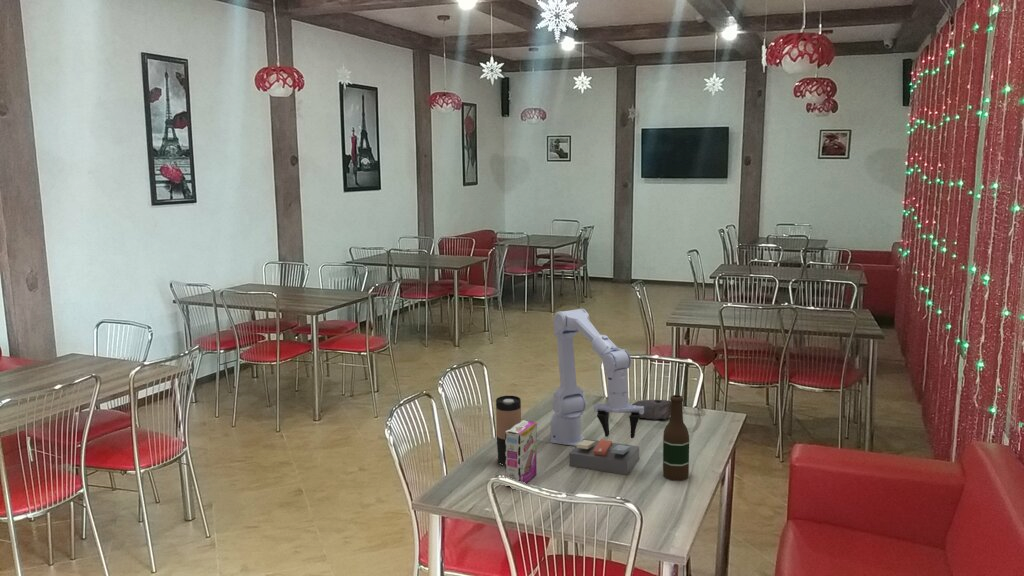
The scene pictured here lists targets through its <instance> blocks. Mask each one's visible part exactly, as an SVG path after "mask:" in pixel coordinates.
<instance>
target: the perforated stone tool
mask: <svg viewBox="0 0 1024 576" xmlns="http://www.w3.org/2000/svg"><path fill="white" fill-rule="evenodd" d="M631 405H636V406H644V413H643V414H641V415H640V417H639V419H646V420H652V421H654V420H655V421H656V420H664V421H666V420H667V419H668V418H670V413H671V400H664V399H647V400H645V399H644V400H640V401H636V402H634V403H632V404H631Z"/></svg>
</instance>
